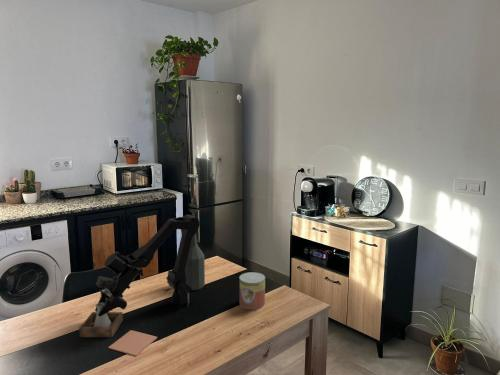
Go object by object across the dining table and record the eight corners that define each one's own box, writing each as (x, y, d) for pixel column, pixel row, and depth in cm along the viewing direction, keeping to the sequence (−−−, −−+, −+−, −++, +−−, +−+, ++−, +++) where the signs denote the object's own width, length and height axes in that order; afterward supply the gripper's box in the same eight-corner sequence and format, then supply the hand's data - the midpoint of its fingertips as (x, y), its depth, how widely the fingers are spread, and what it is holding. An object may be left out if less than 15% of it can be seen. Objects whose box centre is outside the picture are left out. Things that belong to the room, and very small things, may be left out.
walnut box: (122, 320, 152) (122, 312, 152) (112, 337, 140) (111, 328, 140) (93, 320, 152) (92, 312, 152) (79, 336, 140) (79, 328, 140)
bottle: (202, 290, 179) (201, 229, 173) (182, 290, 179) (180, 229, 173) (205, 281, 189) (204, 223, 183) (186, 281, 189) (184, 223, 184)
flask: (115, 323, 149) (113, 300, 148) (106, 334, 142) (105, 309, 141) (97, 323, 150) (96, 299, 148) (88, 333, 143) (86, 308, 141)
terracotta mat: (131, 331, 144) (131, 330, 144) (157, 337, 140) (157, 336, 140) (108, 348, 133) (108, 347, 133) (136, 356, 129) (136, 355, 129)
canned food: (235, 306, 164) (235, 280, 162) (245, 295, 174) (245, 270, 172) (259, 311, 160) (259, 284, 158) (268, 299, 170) (268, 274, 168)
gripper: (101, 261, 152) (74, 294, 147) (116, 276, 137) (86, 314, 133) (122, 275, 158) (97, 307, 153) (138, 291, 143) (111, 327, 139)
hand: (97, 313), depth 144 cm, fingers open, 4 cm apart
